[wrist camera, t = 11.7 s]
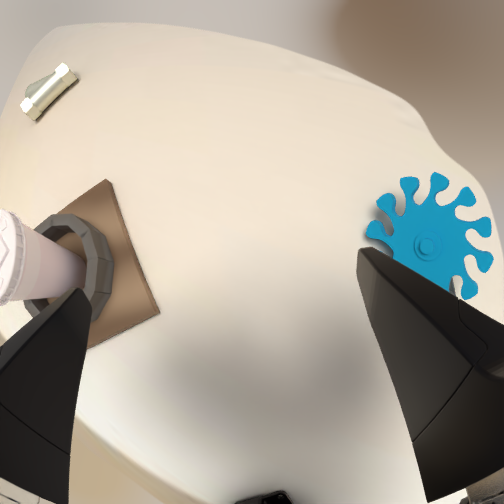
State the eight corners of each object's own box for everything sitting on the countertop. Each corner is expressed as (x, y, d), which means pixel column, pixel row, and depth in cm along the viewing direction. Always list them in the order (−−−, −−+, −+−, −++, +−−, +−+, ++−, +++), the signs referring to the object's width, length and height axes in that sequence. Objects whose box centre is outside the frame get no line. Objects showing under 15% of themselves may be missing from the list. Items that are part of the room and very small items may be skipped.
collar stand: (159, 312, 22) (140, 312, 19) (56, 364, 22) (32, 368, 19) (110, 182, 25) (91, 167, 22) (23, 247, 25) (2, 241, 21)
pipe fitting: (31, 107, 30) (37, 124, 28) (16, 93, 26) (20, 109, 25) (69, 69, 31) (80, 82, 29) (56, 54, 27) (66, 65, 25)
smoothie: (100, 310, 22) (-43, 299, 8) (49, 311, 22) (-76, 300, 8) (99, 234, 23) (-28, 172, 9) (49, 244, 23) (-66, 200, 10)
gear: (345, 199, 21) (466, 150, 14) (373, 198, 25) (470, 161, 18) (384, 339, 20) (507, 316, 13) (405, 313, 24) (504, 291, 17)
